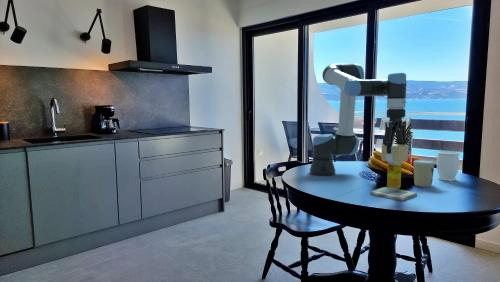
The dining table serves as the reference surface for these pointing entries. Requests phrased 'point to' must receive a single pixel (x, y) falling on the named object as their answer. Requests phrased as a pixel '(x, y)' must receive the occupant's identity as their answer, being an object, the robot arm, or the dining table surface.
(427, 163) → the coffee cup
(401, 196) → the blueprint board
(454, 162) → the jar
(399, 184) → the glass of beer
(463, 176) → the dining table surface
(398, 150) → the cream yellow block
